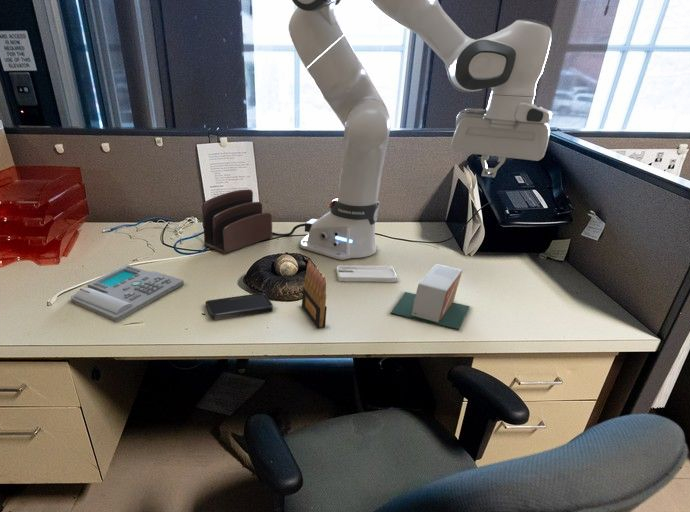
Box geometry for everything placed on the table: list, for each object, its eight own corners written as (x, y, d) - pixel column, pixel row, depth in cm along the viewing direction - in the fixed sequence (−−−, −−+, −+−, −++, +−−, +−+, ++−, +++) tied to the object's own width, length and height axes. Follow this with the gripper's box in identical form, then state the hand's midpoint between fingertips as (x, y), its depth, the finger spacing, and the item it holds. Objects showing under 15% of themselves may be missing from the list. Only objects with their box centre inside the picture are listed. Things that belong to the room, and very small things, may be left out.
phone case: (338, 281, 123) (396, 282, 122) (339, 276, 122) (397, 277, 121) (335, 269, 129) (391, 270, 128) (336, 265, 128) (392, 265, 127)
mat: (390, 314, 109) (390, 312, 109) (405, 293, 117) (405, 291, 117) (458, 330, 102) (458, 329, 102) (468, 307, 111) (469, 306, 110)
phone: (274, 307, 110) (211, 316, 107) (273, 311, 111) (211, 320, 108) (264, 292, 116) (204, 300, 113) (264, 296, 117) (204, 304, 114)
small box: (454, 300, 113) (438, 323, 104) (428, 293, 116) (410, 315, 107) (463, 268, 108) (447, 290, 99) (435, 262, 111) (417, 283, 102)
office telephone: (115, 313, 106) (59, 290, 116) (117, 323, 108) (62, 300, 117) (183, 275, 121) (128, 258, 131) (184, 284, 123) (130, 267, 132)
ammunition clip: (325, 327, 104) (330, 277, 97) (317, 328, 104) (321, 278, 97) (308, 305, 113) (312, 258, 106) (301, 306, 112) (304, 258, 105)
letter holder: (203, 245, 145) (200, 198, 136) (251, 230, 155) (251, 185, 147) (224, 254, 139) (222, 206, 130) (272, 237, 149) (273, 191, 141)
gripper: (456, 107, 107) (440, 172, 115) (558, 114, 99) (533, 184, 106) (462, 106, 112) (446, 169, 119) (559, 113, 103) (535, 180, 111)
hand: (488, 176), depth 113 cm, fingers closed
